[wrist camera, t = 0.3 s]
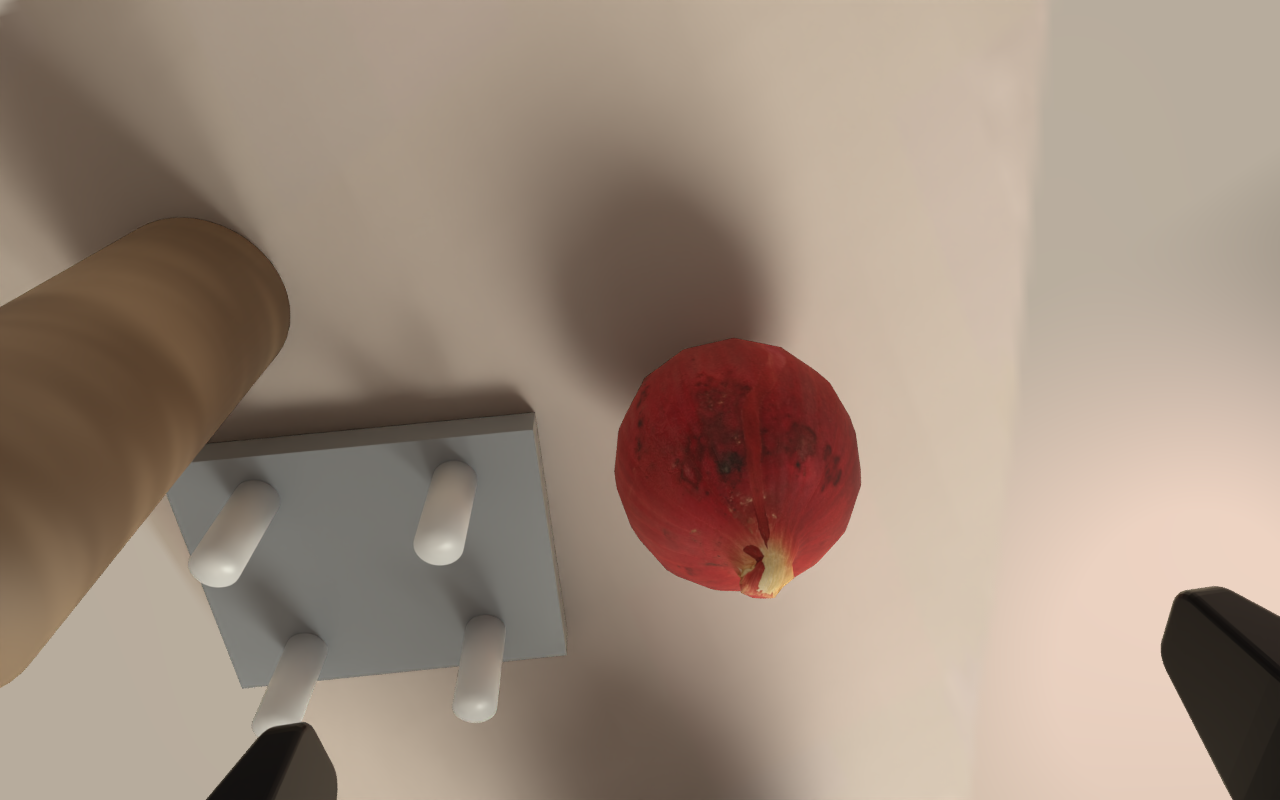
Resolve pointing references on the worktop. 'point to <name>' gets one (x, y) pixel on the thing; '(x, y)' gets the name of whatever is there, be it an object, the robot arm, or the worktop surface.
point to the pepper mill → (117, 403)
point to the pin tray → (376, 556)
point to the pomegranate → (737, 466)
